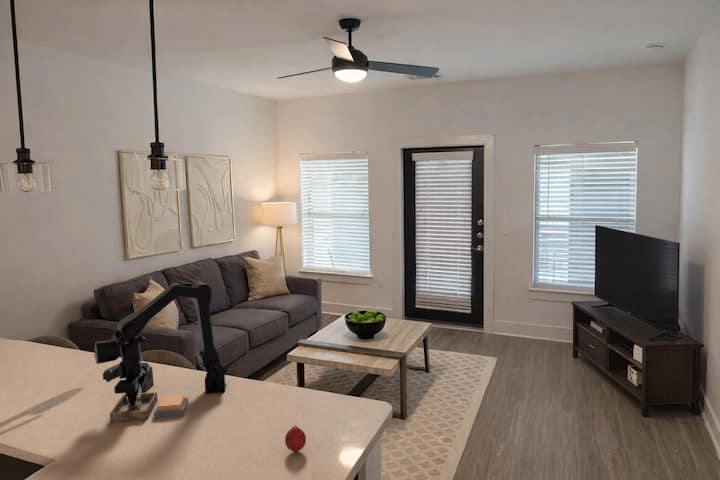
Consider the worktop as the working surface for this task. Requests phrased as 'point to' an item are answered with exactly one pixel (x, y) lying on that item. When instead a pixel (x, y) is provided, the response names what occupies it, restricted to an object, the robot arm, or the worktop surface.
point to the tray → (142, 413)
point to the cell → (138, 401)
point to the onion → (295, 439)
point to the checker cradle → (171, 411)
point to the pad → (171, 403)
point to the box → (148, 380)
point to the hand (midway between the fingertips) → (134, 402)
